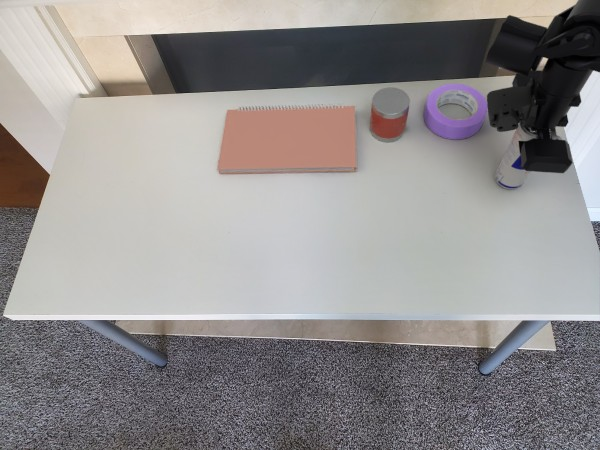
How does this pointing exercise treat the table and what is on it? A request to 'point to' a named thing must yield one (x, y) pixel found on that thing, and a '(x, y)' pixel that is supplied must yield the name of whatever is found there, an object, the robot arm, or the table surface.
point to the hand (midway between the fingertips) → (521, 153)
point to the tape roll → (451, 126)
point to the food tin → (389, 114)
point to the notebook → (289, 140)
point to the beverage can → (514, 161)
